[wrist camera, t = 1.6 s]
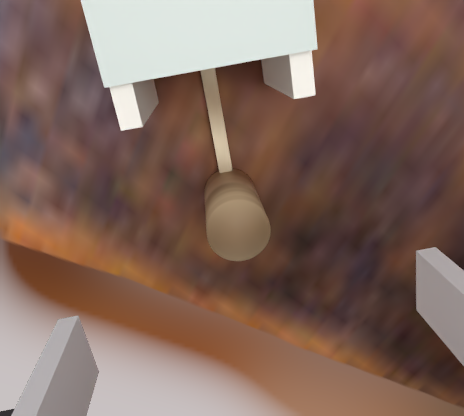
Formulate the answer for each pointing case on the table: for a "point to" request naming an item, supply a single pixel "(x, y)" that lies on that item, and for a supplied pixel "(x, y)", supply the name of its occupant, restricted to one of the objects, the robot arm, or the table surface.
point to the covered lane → (197, 45)
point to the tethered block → (230, 193)
